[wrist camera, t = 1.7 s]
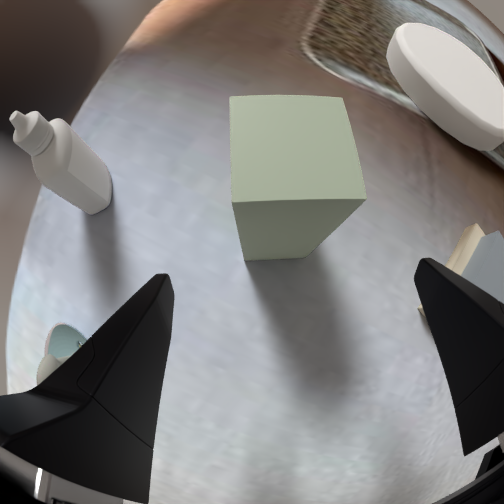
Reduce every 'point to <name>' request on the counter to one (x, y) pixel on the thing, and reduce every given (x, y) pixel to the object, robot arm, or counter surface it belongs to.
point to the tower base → (463, 251)
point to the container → (449, 84)
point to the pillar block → (291, 172)
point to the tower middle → (488, 265)
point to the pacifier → (59, 348)
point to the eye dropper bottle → (64, 161)
